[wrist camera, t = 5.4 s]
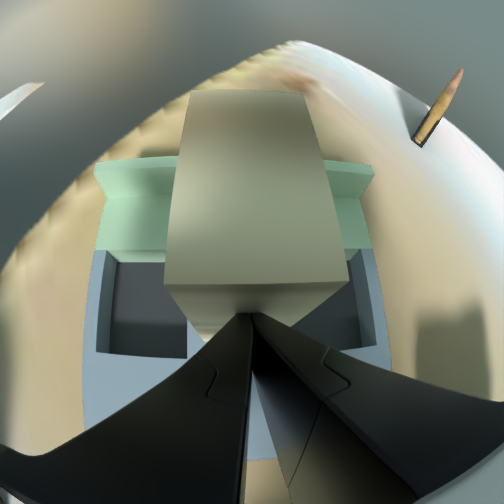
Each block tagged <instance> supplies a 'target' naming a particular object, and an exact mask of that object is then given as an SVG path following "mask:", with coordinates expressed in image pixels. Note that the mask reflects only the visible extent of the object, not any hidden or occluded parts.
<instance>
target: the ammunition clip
mask: <svg viewBox="0 0 504 504" xmlns="http://www.w3.org/2000/svg"><path fill="white" fill-rule="evenodd" d="M462 75H463V68H461V69H460V70H458V72H456V74H455V75H454V77H453V78H452V80H451V81H450V83H449V84H448V85H447V86H446V87H445V89H444V90H443V92H442V93H441V95H440V96H439V97H438V99H437V100H436V102H435V103H434V105H433V106H432V107H431V109H430V110H429V112H428V113H427V115H426V116H425V118H424V120H423V121H422V123H421V124H420V126H419V127H418V129H417V131H416V132H415V134H414V135H413V137H412V138H411V140H413V141H414V142H415V143H416V144H417V145H419V146H420V147H421V148H422V147H423V145H424V144H425V142H426V141H427V140H428V138H429V137H430V135H431V134H432V132H433V131H434V129H435V128H436V126H437V125H438V123H439V122H440V120H441V118H442V116H443V114H444V112H445V111H446V109H447V107H448V105H449V104H450V101H451V100H452V98H453V95H454V93H455V91H456V89H457V87H458V84H459V82H460V80H461V78H462Z"/></svg>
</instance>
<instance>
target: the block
mask: <svg viewBox="0 0 504 504" xmlns="http://www.w3.org/2000/svg"><path fill="white" fill-rule="evenodd" d="M349 281H350V280H349V274H348V268H347V263H346V257H345V252H344V247H343V242H342V237H341V232H340V227H339V223H338V218H337V214H336V209H335V205H334V201H333V197H332V192H331V188H330V184H329V181H328V177H327V173H326V169H325V165H324V162H323V158H322V155H321V151H320V148H319V144H318V141H317V138H316V134H315V131H314V128H313V125H312V121H311V118H310V115H309V112H308V109H307V106H306V103H305V100H304V97H303V95H302V94H293V93H283V92H272V91H256V90H191V94H190V98H189V103H188V107H187V112H186V117H185V122H184V127H183V132H182V137H181V143H180V148H179V154H178V160H177V166H176V173H175V179H174V186H173V193H172V201H171V209H170V217H169V226H168V235H167V246H166V257H165V270H164V286H165V287H166V289H167V290H168V292H169V293H170V295H171V296H172V298H173V299H174V300H175V302H176V303H177V305H178V306H179V308H180V309H181V311H182V312H183V313H184V315H185V316H186V318H187V319H188V320H189V322H190V323H191V324H192V326H193V327H194V329H195V330H196V331H197V333H198V334H199V335H200V337H201V338H202V339H203V341H204V342H208V341H209V340H210V339H211V338H212V337H213V336H214V335H215V334H216V333H217V332H218V331H219V330H220V329H221V328H222V327H223V326H224V325H225V324H226V323H227V322H228V321H229V320H230V319H231V318H232V317H233V316H234V315H235V314H236V313H249V314H250V313H260V312H261V313H264V314H266V315H268V316H270V317H272V318H274V319H275V320H277V321H279V322H281V323H283V324H285V325H287V326H289V327H291V326H292V325H294V324H295V323H296V322H298V321H299V320H301V319H302V318H303V317H304V316H306V315H307V314H308V313H310V312H311V311H312V310H314V309H315V308H316V307H318V306H319V305H320V304H321V303H323V302H324V301H325V300H327V299H328V298H329V297H330V296H332V295H333V294H334V293H335V292H337V291H338V290H339V289H340V288H341V287H343V286H344V285H345V284H346V283H348V282H349Z"/></svg>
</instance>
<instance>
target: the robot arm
mask: <svg viewBox="0 0 504 504" xmlns="http://www.w3.org/2000/svg"><path fill="white" fill-rule="evenodd" d="M252 372H253V377H254V381H255V385H256V388H257V392H258V395H259V398H260V402H261V405H262V409H263V412H264V415H265V419H266V422H267V425H268V429H269V432H270V435H271V438H272V442H273V445H274V448H275V451H276V454H277V458H278V461H279V464H280V467H281V470H282V473H283V476H284V479H285V482H286V485H287V488H288V491H289V495H290V498H291V502H292V504H504V402H497V401H492V400H487V399H483V398H479V397H476V396H472V395H468V394H464V393H460V392H457V391H453V390H450V389H446V388H443V387H439V386H436V385H433V384H429V383H426V382H423V381H420V380H417V379H413V378H410V377H407V376H404V375H401V374H398V373H395V372H392V371H389V370H386V369H383V368H380V367H378V366H375V365H372V364H369V363H367V362H364V361H361V360H359V359H356V358H354V357H351V356H349V355H347V354H345V353H342V352H340V351H338V350H336V349H334V348H330V347H329V346H327V345H325V344H323V343H321V342H319V341H317V340H315V339H313V338H311V337H309V336H307V335H305V334H303V333H301V332H299V331H297V330H295V329H293V328H291V327H289V326H287V325H285V324H283V323H281V322H279V321H277V320H275V319H274V318H272V317H270V316H268V315H266V314H264V313H261V312H260V313H250V314H249V313H236V314H235V315H234V316H233V317H232V318H231V319H230V320H229V321H228V322H227V323H226V324H225V325H224V326H223V327H222V328H221V329H220V330H219V331H218V332H217V333H216V334H215V335H214V336H213V337H212V338H211V339H210V340H209V341H208V342H207V343H206V344H205V345H204V346H203V347H202V348H201V349H200V350H199V351H198V352H197V353H196V354H195V355H193V356H192V357H191V358H190V359H189V360H188V361H187V362H186V363H184V364H183V365H182V366H181V367H180V368H179V369H178V370H176V371H175V372H174V373H172V374H171V375H170V376H168V377H167V378H166V379H164V380H163V381H161V382H160V383H158V384H157V385H156V386H154V387H153V388H151V389H150V390H148V391H147V392H145V393H144V394H142V395H141V396H139V397H138V398H136V399H135V400H133V401H132V402H130V403H129V404H127V405H126V406H124V407H123V408H121V409H119V410H118V411H116V412H115V413H113V414H112V415H110V416H109V417H107V418H105V419H104V420H102V421H101V422H99V423H97V424H96V425H94V426H93V427H91V428H89V429H88V430H86V431H84V432H83V433H81V434H79V435H78V436H76V437H74V438H73V439H71V440H69V441H68V442H66V443H64V444H62V445H61V446H59V447H57V448H55V449H54V450H52V451H50V452H48V453H45V454H43V455H38V456H28V455H24V454H22V453H19V452H17V451H15V450H13V449H11V448H10V447H7V446H5V445H3V444H0V487H1V488H3V489H4V490H5V491H7V492H8V493H10V494H11V495H13V496H14V497H15V498H17V499H18V500H20V501H21V502H23V503H24V504H244V500H245V485H246V470H247V454H248V439H249V422H250V406H251V389H252Z"/></svg>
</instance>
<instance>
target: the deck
mask: <svg viewBox="0 0 504 504" xmlns="http://www.w3.org/2000/svg"><path fill="white" fill-rule="evenodd" d="M177 160H178V156H162V157H147V158H134V159H123V160H113V161H104V162H97V164H96V167H95V170H94V172H93V173H94V175H95V177H96V179H97V181H98V182H99V184H100V186H101V188H102V190H103V192H104V193H105V195H106V197H107V198H106V201H105V205H104V209H103V213H102V217H101V221H100V226H99V230H98V235H97V239H96V244H95V250H94V255H93V260H92V266H91V273H90V279H89V286H88V294H87V302H86V312H85V323H84V337H83V364H82V385H83V411H84V424H85V431H86V430H88V429H89V428H91V427H93V426H94V425H96V424H97V423H99V422H101V421H102V420H104V419H105V418H107V417H109V416H110V415H112V414H113V413H115V412H116V411H118V410H119V409H121V408H123V407H124V406H126V405H127V404H129V403H130V402H132V401H133V400H135V399H136V398H138V397H139V396H141V395H142V394H144V393H145V392H147V391H148V390H150V389H151V388H153V387H154V386H156V385H157V384H158V383H160V382H161V381H163V380H164V379H166V378H167V377H168V376H170V375H171V374H172V373H174V372H175V371H176V370H178V369H179V368H180V367H181V366H182V365H183V364H184V363H186V362H187V361H188V360H189V359H190V358H191V357H192V356H193V355H195V354H196V353H197V352H198V351H199V350H200V349H201V348H202V347H203V346H204V345H205V344H206V343H207V342H204V341H203V339H202V338H201V337H200V335H199V334H198V333H197V331H196V330H195V329H194V327H193V326H192V324H191V323H190V322H189V320H188V319H187V318H186V316H185V315H184V313H183V312H182V311H181V309H180V308H179V306H178V305H177V303H176V302H175V300H174V299H173V298H172V296H171V295H170V293H169V292H168V290H167V289H166V287H165V286H164V270H165V257H166V246H167V235H168V226H169V217H170V209H171V201H172V193H173V186H174V179H175V173H176V166H177ZM323 162H324V165H325V169H326V173H327V177H328V181H329V184H330V188H331V192H332V197H333V201H334V205H335V209H336V214H337V218H338V223H339V227H340V232H341V237H342V242H343V247H344V252H345V257H346V263H347V268H348V274H349V280H350V281H349V282H348V283H346V284H345V285H344V286H343V287H341V288H340V289H339V290H338V291H337V292H335V293H334V294H333V295H332V296H330V297H329V298H328V299H327V300H325V301H324V302H323V303H321V304H320V305H319V306H318V307H316V308H315V309H314V310H312V311H311V312H310V313H308V314H307V315H306V316H304V317H303V318H302V319H301V320H299V321H298V322H296V323H295V324H294V325H292V326H291V328H293V329H295V330H297V331H299V332H301V333H303V334H305V335H307V336H309V337H311V338H313V339H315V340H317V341H319V342H321V343H323V344H325V345H327V346H329V347H330V348H334V349H336V350H338V351H340V352H342V353H345V354H347V355H349V356H351V357H354V358H356V359H359V360H361V361H364V362H367V363H369V364H372V365H375V366H378V367H380V368H383V369H386V370H389V371H392V368H391V357H390V348H389V339H388V332H387V324H386V317H385V311H384V305H383V299H382V293H381V287H380V282H379V277H378V272H377V267H376V262H375V258H374V253H373V249H372V245H371V240H370V236H369V232H368V228H367V224H366V221H365V217H364V213H363V210H362V206H361V203H360V199H359V198H360V196H361V195H362V193H363V192H364V190H365V189H366V187H367V186H368V184H369V183H370V181H371V180H372V178H373V177H374V173H373V170H372V167H371V165H366V164H358V163H350V162H342V161H332V160H323ZM275 458H277V454H276V451H275V448H274V445H273V442H272V438H271V435H270V432H269V429H268V425H267V422H266V419H265V415H264V412H263V409H262V405H261V402H260V398H259V395H258V392H257V388H256V385H255V381H254V377H253V372H252V389H251V406H250V422H249V439H248V454H247V461H251V460H264V459H275Z"/></svg>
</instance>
